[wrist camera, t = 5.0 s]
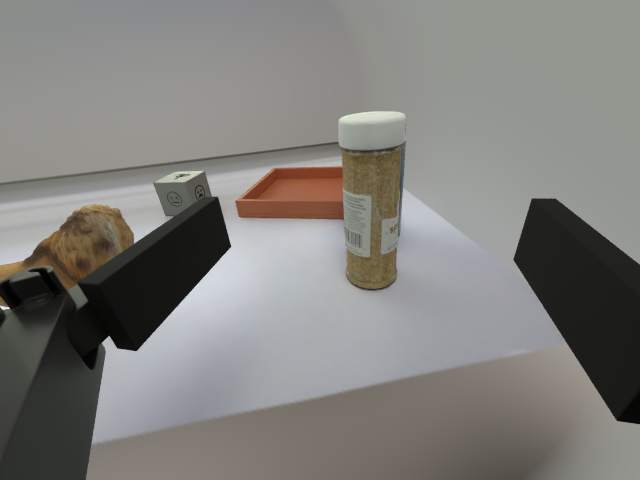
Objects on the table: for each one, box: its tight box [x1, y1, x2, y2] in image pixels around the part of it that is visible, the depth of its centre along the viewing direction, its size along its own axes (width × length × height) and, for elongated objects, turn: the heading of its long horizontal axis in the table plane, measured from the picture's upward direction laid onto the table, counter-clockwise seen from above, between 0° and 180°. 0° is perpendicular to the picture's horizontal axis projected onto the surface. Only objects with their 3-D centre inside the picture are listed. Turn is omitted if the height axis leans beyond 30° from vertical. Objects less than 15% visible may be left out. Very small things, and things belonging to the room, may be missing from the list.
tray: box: [235, 167, 344, 219], centre depth 44 cm, size 15×15×2 cm
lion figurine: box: [0, 204, 134, 307], centre depth 21 cm, size 15×5×9 cm, turn 123°
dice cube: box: [153, 171, 212, 216], centre depth 43 cm, size 5×5×5 cm
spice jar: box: [339, 111, 406, 289], centre depth 23 cm, size 5×5×13 cm
